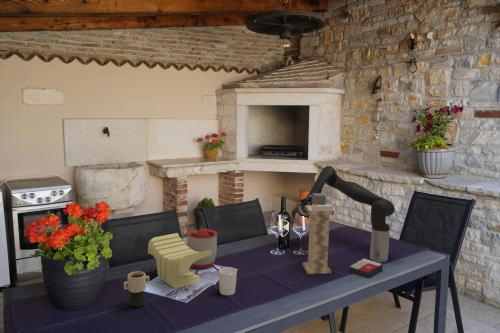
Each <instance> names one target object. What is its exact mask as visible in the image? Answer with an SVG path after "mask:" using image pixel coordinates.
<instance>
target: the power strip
mask: <svg viewBox="0 0 500 333" xmlns="http://www.w3.org/2000/svg"><path fill="white" fill-rule="evenodd" d="M311 210H312V211H333V210H334V206H333V205H332V204H326V205H317V204H313V205H312V209H311Z"/></svg>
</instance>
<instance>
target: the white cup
mask: <svg viewBox="0 0 500 333" xmlns="http://www.w3.org/2000/svg"><path fill="white" fill-rule="evenodd" d="M237 272H238V270H237V268H234V267H231V266H225V267H221V268H219V269H218V283H219V284H218V285H219V293H220V295H223V296H233V295H234V294H235V293H236V286H237V285H236V284H237V276H238V275H237Z"/></svg>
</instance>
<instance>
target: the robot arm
mask: <svg viewBox="0 0 500 333" xmlns="http://www.w3.org/2000/svg"><path fill="white" fill-rule="evenodd" d="M325 184H326V185H327V186H329V187H331V188H333V189H336V190H338V191H339V192H340V193H342V194H344V195H345V196H347V197H348V198H349V199H351V200H352V201H355V202H357V203H360V204H363V205H368V206H371V208H370V224H371V237H370V249H369V250H370V251H369V260H370V261H374V262H377V263H386V262H387V261H388V259H389V248H390V247H389V246H390V230H391V229H390V228H391V226H390V224H389V223H387V220H386V218H387V217H390V216H392V215H393V214H395V205H394V204H393V202H392V201H391V200H389V199H386V198H384V197H382V196H379V195H377V194H375V193H373V192H372V191H370V190H369V189H367V188H365V187H363V186H362V185H360V184H359V183H357V182H355V181H347V180H344V179H342V178H341V177H340V176H339V174H338V173H337V172H336V169H335V168H334V167H333V166H331V165H327V166H325V167H323V168H322V169H321V171H320V173H319V175H318V176H317V178H316V180H315V183H314V184H313V186H312V188H311V190H310V191H309V192H308V193H307V195H306V196H305V198H303V199H300V200H298V206H296V207H294V208H293V209H292V210H291V216H292V218H294V217H295V214H296V213H297V212H298V213H299V215H300V216H304V217H307V218H308V220H310V214H309V213H308V212H307V211H306V210H305V209H304V206H305V205H312V203H311V201H312V196H310V197H309V195H312V193H322V192H323V188H324V186H325Z"/></svg>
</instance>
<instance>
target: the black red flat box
mask: <svg viewBox="0 0 500 333" xmlns="http://www.w3.org/2000/svg"><path fill="white" fill-rule="evenodd" d="M383 266H384V265H383V263H381V262H375V261H372V260H371V259H366V258H362V259H361V260H358V261H356V262H355V263H353V264H351V265H350V266H349V267H348V273H349V274H354V275H356V276H359V277H363V278H366V279H371V278H372V277H374V276H375V275H377V274H379V273H382V272H383V269H384V268H383Z"/></svg>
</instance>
